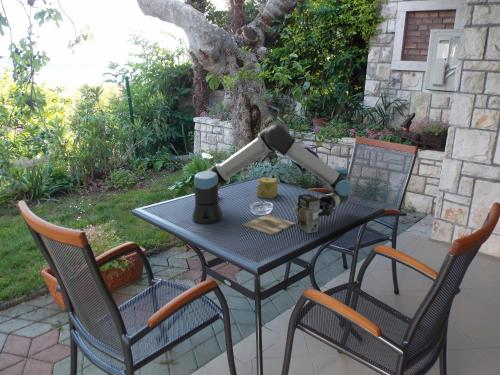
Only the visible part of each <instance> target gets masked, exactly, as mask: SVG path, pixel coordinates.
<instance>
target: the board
mask: <svg viewBox="0 0 500 375" xmlns="http://www.w3.org/2000/svg"><path fill="white" fill-rule="evenodd" d="M295 225H296V222H293V221H290V220H287V219H284V218H281V217H280V218H279V217H276V216H274V215H273V216H272V215H270V214H264V215H262V216H260V217H257V218H254V219H252V220H250V221H247V222H244V223H242V226H243V227H246V228H249V229H252V230H254V231H258V232H260V233H263V234H267V235H269V236H274V235H276V234H279V233H280V232H283V231H285V230H287V229H289V228H291V227H293V226H295Z"/></svg>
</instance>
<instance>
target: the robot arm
mask: <svg viewBox="0 0 500 375" xmlns="http://www.w3.org/2000/svg"><path fill="white" fill-rule="evenodd" d="M290 133H291V132H290V129H289V127H288V124H286V123H285V122H283V121H280V120H275V121H274V120H273V121H272V122H270V123H269V124H268V126H266V127H265V128H263V129H262V130H261V131H259V132H258V134H257V137H256V138H255V139H253V140H252V141H250V142H249V143H248V144H246V145H245V146H243V147H242V148H240V149H239V150H237V151H236V153H234V154H232V155H231V156H230V157H228V158H227V159H226V160H223V162H221V163H219V162H216V163H215V164H213V165H212V166H210V167H208V168H206V169H205V170H203V171H199V172H197V173H196V174H195V175H194V177H193V184H194V185H193V186H194V201H195V202H194V209H193V213H192V219H191V220H192V221H193V222H194V223H196V224H202V225H208V224H215V223H219V222H221V221H222V220H223V212H222V210H221V207H220V202H219V195H218V191H219V190H220V189H221V188H222V187H224V186H225V185H227V183H229V182H230V181H231V177H233V176H234V175H236V174H237V173H239V172H240V171H241V170H243V169H244V168H246V167H247V166H248V165H250V164H251V163H253V162H255V161H256V160H257V159H258V158H260V157H262V156H263V155H264V154H266V153H267V152H270V153H273V152H274V151H276V152H277V153H279V154H280V155H281V156H283V157H289V158H290V160H292V161H294V162H296V163H297V164H298V165H300V167H302V168H304V169H305V170H307V171H308V172H310V173H311V174H312V175H313V176H315V177H317V178H318V179H319V180H321V181H322V182H324V183H325V184H326V185H328V186H329V187H330V188H331V192H330V193H328V194H325V195H324V196H321V197H320V198H319V199H320V208H319V211H317V212H315V213H313V219H316V218H318V217H319V218H320V217H324V216H326V217H330V216H331V214H332V213H334V212H335V211H336V208H337V207H339V206H341V205H344V204H346V203H347V202H348V201H350V199H351V192H352V190H353V187H352V183H351V181H350V179H349V168H347V167H343V166H337V167H334V168H333V167H331V166H330V165H329V164H327V163H325V162H324V161H323V160H322V159H321V158H318V157H317V156H316V155H314V154H313V153H312V152H310V151H309V150H307V149H306V148H305V147H303V145H301V144H300V143H298V142H297V139H296V138H295V137H293V135H292V134H290ZM296 204H297V206H294V207H293V208H292V214H294V215H295V214H298V202H297V203H296Z"/></svg>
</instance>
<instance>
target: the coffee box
mask: <svg viewBox="0 0 500 375" xmlns="http://www.w3.org/2000/svg"><path fill="white" fill-rule="evenodd" d="M297 197H298V198H297V199H298V200H297V201H298V202H297V203H298V212H297V228H298V229H300V230H301V231H303V232H304V233H306V234H311V233H312V232H313V233H318V232H319V224H320V223H319V220H320V217H318V218H316V219H313V213H315V212H317V211H319V210H320V209H319V208H320V198H318V197H316V196H315V195H312V194H311V193H307V194H304V193H303V194H299V195H298V196H297ZM317 231H318V232H317Z"/></svg>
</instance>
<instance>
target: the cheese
mask: <svg viewBox="0 0 500 375" xmlns="http://www.w3.org/2000/svg"><path fill="white" fill-rule="evenodd" d="M256 187H257V188H256V189H257V192H256V197H257V198H263V199H264V198H265V199H274V198H275V197H276V196H277V194H278V178H277V177H264V176H263V177H260V178H259V179H258V184H257V186H256Z"/></svg>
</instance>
